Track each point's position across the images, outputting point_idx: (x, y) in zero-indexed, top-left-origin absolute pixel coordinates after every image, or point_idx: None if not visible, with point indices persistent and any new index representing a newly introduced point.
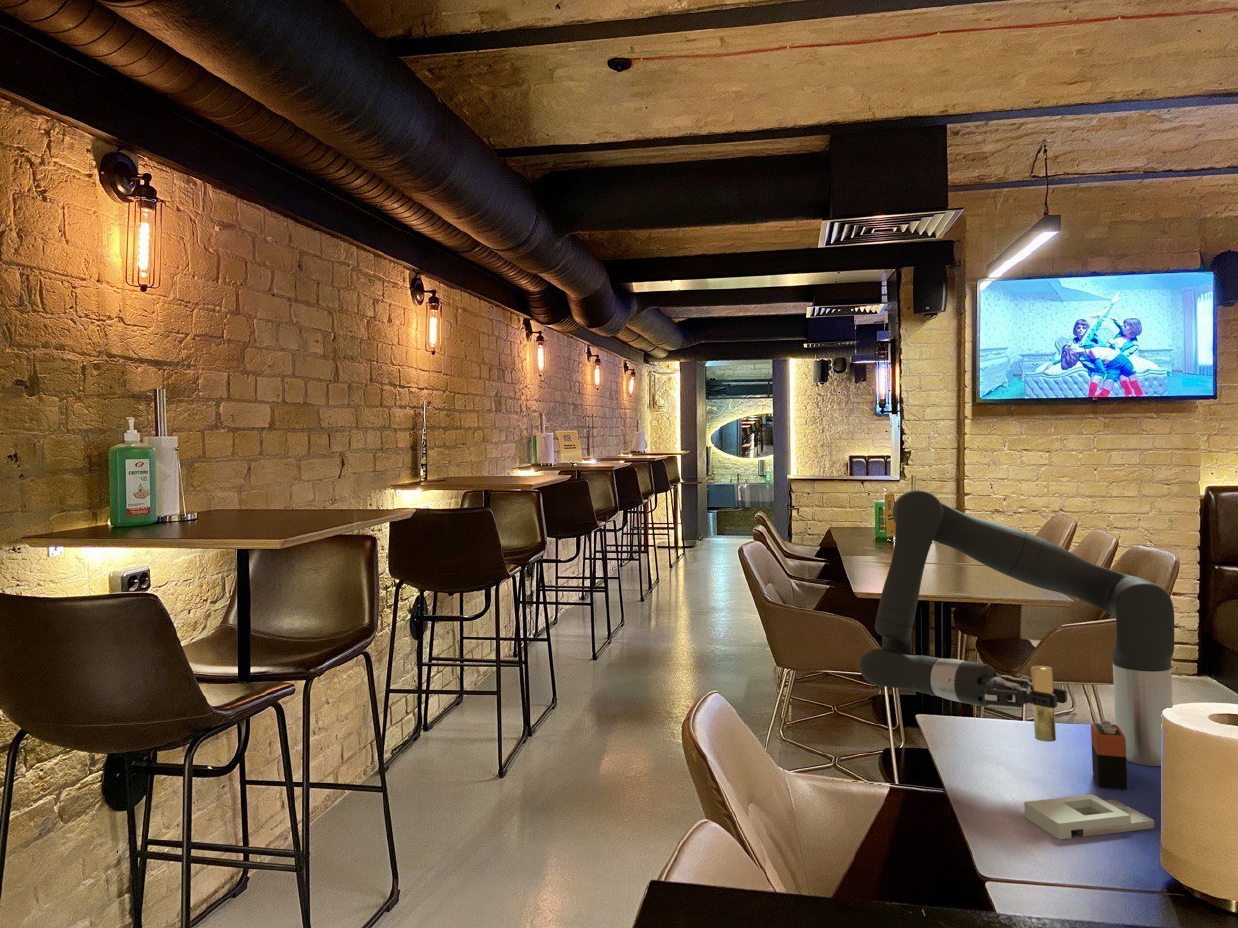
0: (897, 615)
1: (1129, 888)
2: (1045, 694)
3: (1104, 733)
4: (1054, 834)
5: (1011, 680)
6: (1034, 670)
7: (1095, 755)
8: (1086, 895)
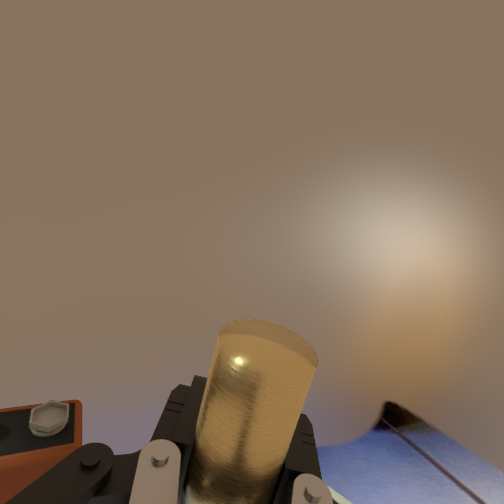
0: None
1: (424, 458)
2: (298, 423)
3: (66, 433)
4: None
5: None
6: (313, 373)
7: None
8: (492, 495)
